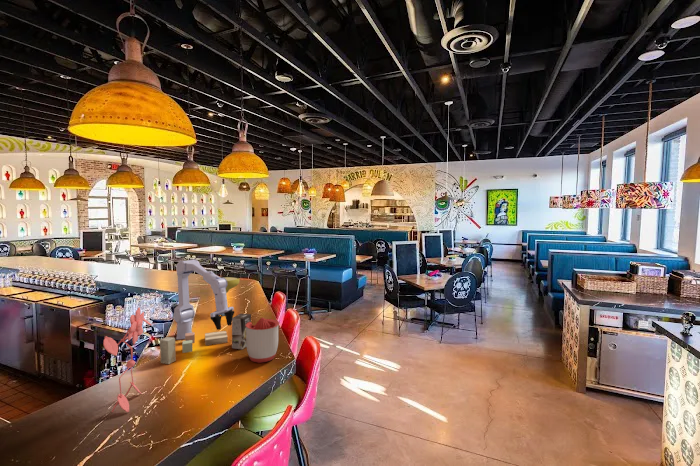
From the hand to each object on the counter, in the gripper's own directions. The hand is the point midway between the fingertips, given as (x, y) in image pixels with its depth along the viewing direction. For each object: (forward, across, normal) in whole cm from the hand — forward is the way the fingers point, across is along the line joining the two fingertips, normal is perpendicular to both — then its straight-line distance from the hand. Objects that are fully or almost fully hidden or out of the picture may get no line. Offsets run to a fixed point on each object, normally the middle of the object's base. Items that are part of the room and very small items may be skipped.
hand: (224, 327), depth 175 cm
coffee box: (+12, +5, -5) cm, 14 cm away
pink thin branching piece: (+13, -53, -8) cm, 55 cm away
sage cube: (+8, -11, +15) cm, 21 cm away
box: (+9, -24, +13) cm, 29 cm away
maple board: (+9, +5, +12) cm, 16 cm away
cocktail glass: (+3, +47, +43) cm, 64 cm away
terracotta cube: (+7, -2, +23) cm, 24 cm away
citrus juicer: (+15, -2, -24) cm, 28 cm away
